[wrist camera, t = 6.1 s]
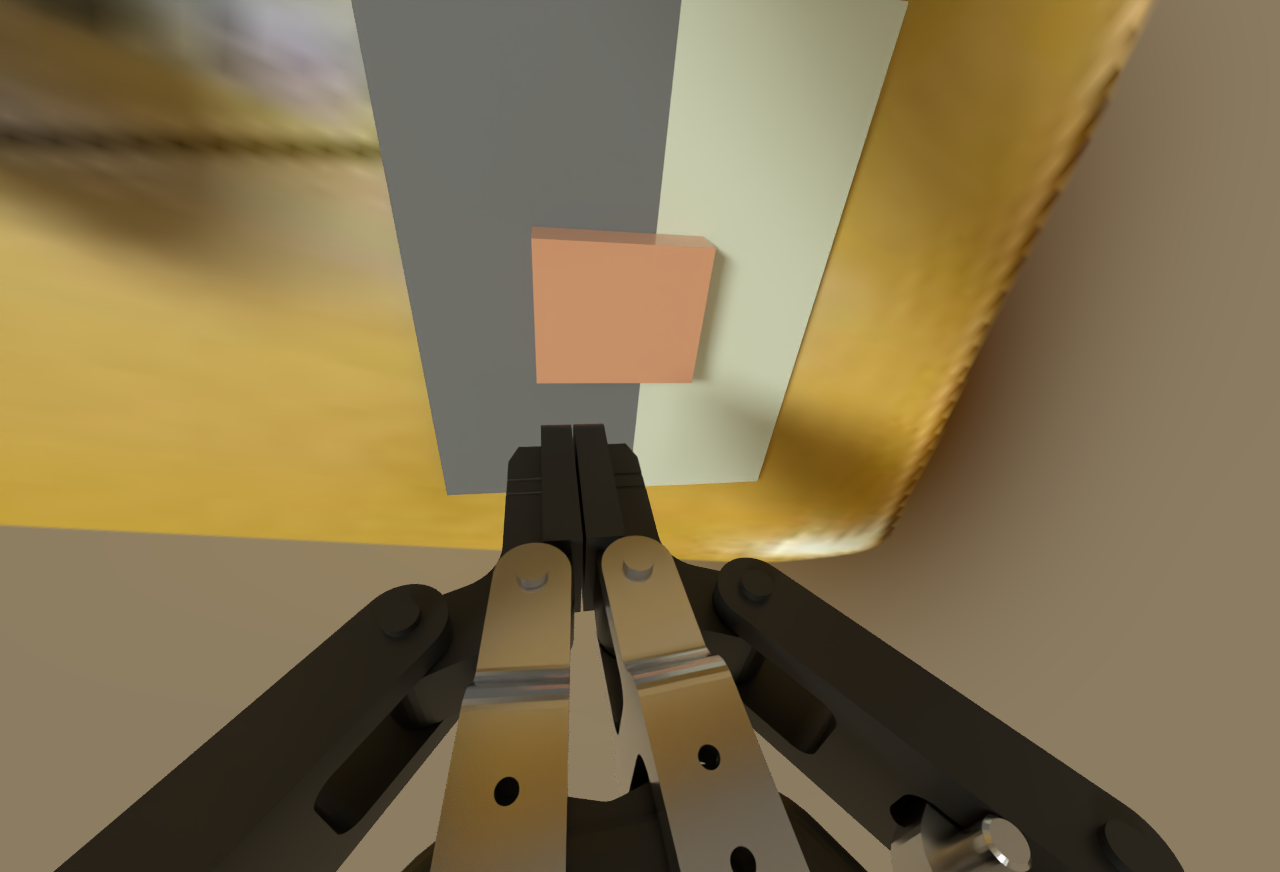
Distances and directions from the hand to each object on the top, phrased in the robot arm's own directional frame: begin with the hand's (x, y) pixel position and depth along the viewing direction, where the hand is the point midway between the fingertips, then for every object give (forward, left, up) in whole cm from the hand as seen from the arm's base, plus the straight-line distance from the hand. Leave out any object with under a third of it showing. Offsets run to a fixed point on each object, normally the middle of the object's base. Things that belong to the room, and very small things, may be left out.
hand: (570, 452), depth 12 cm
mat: (0, +3, -12) cm, 12 cm away
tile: (0, +3, -10) cm, 10 cm away
